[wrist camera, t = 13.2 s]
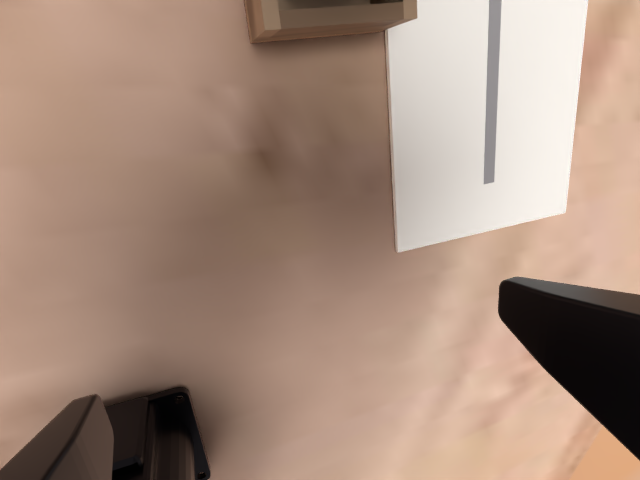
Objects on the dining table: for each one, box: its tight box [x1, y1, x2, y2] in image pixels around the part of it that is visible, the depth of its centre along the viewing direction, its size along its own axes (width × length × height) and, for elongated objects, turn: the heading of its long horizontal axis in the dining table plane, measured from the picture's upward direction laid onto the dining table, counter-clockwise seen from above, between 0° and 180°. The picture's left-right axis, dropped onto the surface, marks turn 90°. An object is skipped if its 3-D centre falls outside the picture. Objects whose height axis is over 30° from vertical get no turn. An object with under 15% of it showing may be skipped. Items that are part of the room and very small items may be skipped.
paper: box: [385, 0, 588, 253], centre depth 22 cm, size 16×12×1 cm
